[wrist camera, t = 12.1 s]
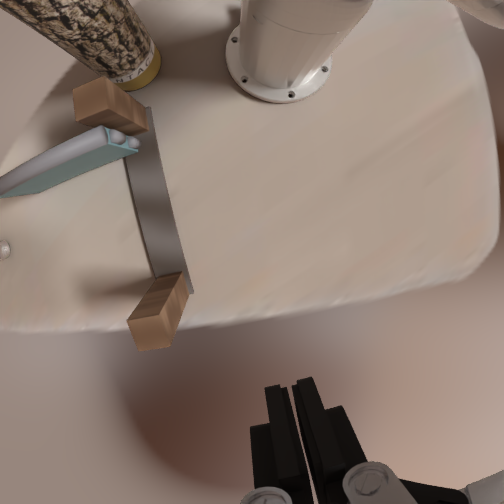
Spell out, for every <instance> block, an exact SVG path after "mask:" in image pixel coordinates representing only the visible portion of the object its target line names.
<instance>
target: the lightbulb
mask: <svg viewBox="0 0 504 504" xmlns="http://www.w3.org/2000/svg"><path fill="white" fill-rule="evenodd" d="M9 255H10V247H9V245H8V243H7V242H6V241H4V240H2V241H0V261H1V260H3V259H6V258H8V257H9Z"/></svg>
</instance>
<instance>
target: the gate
mask: <svg viewBox="0 0 504 504" xmlns="http://www.w3.org/2000/svg"><path fill="white" fill-rule="evenodd" d="M140 147H141V141H140V140H139V139H137V138H134V137H132V136H126V135H125V134H124V133H122V132H119V131H117V130H114V129H108V128H105V127H104V126H103V125H100V126H98V127H96V128H93V129H91V130H89V131H87V132H84V133H82V134H80V135H78V136H76V137H73V138H71V139H69V140H67V141H65V142H63V143H61V144H59V145H57V146H55V147H53V148H51V149H49V150H47V151H45V152H43V153H41V154H39V155H38V156H36V157H34V158H32V159H30V160H29V161H27V162H25V163H23V164H21V165H20V166H18V167H16V168H15V169H13V170H11V171H10V172H8V173H6V174H5V175H3V176H1V177H0V198H6V197H13V196H20V195H27V194H35V193H40V192H42V191H44V190H46V189H48V188H51V187H53V186H55V185H57V184H59V183H61V182H64V181H66V180H68V179H70V178H73V177H75V176H77V175H80V174H82V173H85V172H87V171H89V170H92V169H94V168H97V167H99V166H102V165H104V164H107V163H110V162H112V161H115V160H118V159H120V158H123V157H126V156H128V155H131V154H134V153H137V152H138V149H139V148H140Z"/></svg>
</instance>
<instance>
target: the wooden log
mask: <svg viewBox="0 0 504 504" xmlns="http://www.w3.org/2000/svg"><path fill="white" fill-rule="evenodd" d="M0 8H2V9H3V10H4V11H6V12H8V13H9V14H11V15H12V16H14V17H16V18H17V19H19V20H20V21H22V22H23V23H25V24H26V25H28V26H29V27H31V28H32V29H34V30H36V31H37V32H38V33H40V34H42V35H43V36H45V37H46V38H47V39H49V40H50V41H52V42H53V43H55V44H56V45H58V46H59V47H61V48H62V49H64V50H65V51H66V52H68V53H69V54H71V55H72V56H73V57H75V58H76V59H78V60H79V61H80V62H82V63H83V64H85V65H86V66H87V67H89V68H90V69H92V70H93V71H94V72H96V73H97V74H99V75H100V76H101V77H102V76H105V77H106V78H107V79H109V80H110V81H111V82H113V83H114V84H115V85H117V86H118V87H119V88H121V89H122V90H126V91H132V90H137V89H140V88H142V87H144V86H146V85H147V84H148V83H150V82H151V81H152V80H153V79H154V78H155V76H156V75H157V73H158V71H159V69H160V65H161V57H160V53H159V51H158V49H157V48H156V46H155V44H154V43H153V41H152V39H151V37H150V36H149V34H148V32H147V31H146V29H145V27H144V26H143V24H142V23H141V21H140V19H139V18H138V16H137V14H136V13H135V11H134V10H133V8H132V6H131V5H130V3H129V1H128V0H0Z"/></svg>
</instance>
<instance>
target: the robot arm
mask: <svg viewBox="0 0 504 504" xmlns="http://www.w3.org/2000/svg"><path fill="white" fill-rule="evenodd" d="M447 1H448V2H450V3H452V4H454V5H455V6H457V7H459V8H461V9H463V10H464V11H466V12H467V13H469V14H471V15H472V16H474V17H476V18H478V19H479V20H481V21H483V22H485V23H487V24H489V25H492V26H494V27H497V28H500V29H504V0H447ZM372 2H373V0H241V18H240V24H239V25H238V26H237V27H236V28H235V29H234V30H233V32H232V33H231V35H230V36H229V39H228V41H227V44H226V51H225V56H226V63H227V67H228V70H229V72H230V74H231V76H232V78H233V79H234V80H235V82H236V83H237V84H238V85H239V86H240V87H241V88H242V89H243V90H244V91H246V92H248V93H249V94H251V95H252V96H254V97H257V98H259V99H261V100H264V101H269V102H273V103H292V102H297V101H301V100H304V99H306V98H308V97H310V96H312V95H313V94H314V93H316V92H317V91H318V90H319V89H320V88H321V87H322V86H323V85H324V84H325V82H326V81H327V79H328V78H329V75H330V73H331V69H332V53H333V52H334V51H335V49H336V48H337V47H338V46H339V45H340V43H341V42H342V41H343V40H344V39H345V38H346V36H347V35H348V34H349V33H350V32H351V30H352V29H353V28H354V27H355V26H356V25H357V24H358V22H359V21H360V20H361V19H362V18H363V16H364V15H365V14H366V13H367V12H368V10H369V8H370V7H371V5H372ZM234 41H235V42H237V43H233V42H234ZM322 70H324V71H325V72H323V71H322ZM243 80H246V81H247V82H246V83H243V82H242V81H243ZM288 95H292V98H290V97H288ZM292 391H293V396H294V401H295V406H296V412H297V417H298V422H299V427H300V432H301V437H302V441H303V445H304V449H305V453H306V457H307V461H308V464H309V468H310V472H311V476H312V480H313V484H314V487H315V491H316V495H317V499H318V503H319V504H504V470H502V471H500V472H498V473H496V474H493V475H491V476H489V477H486V478H484V479H481V480H479V481H476V482H474V483H471V484H468V485H467V486H466V488H463V489H460V490H456V489H450V488H444V487H437V486H432V485H427V484H421V483H416V482H411V481H407V480H403V479H399V478H397V476H396V475H395V474H394V473H393V471H392V470H391V469H390V468H389V467H388V466H387V465H385V464H382V463H380V462H374V461H372V462H368V461H367V459H366V457H365V454H364V452H363V450H362V448H361V445H360V443H359V441H358V439H357V437H356V434H355V433H354V430H353V428H352V426H351V423H350V421H349V419H348V417H347V415H346V413H345V410H344V408H343V407H342V406H337V407H334V408H330V409H326V410H325V409H324V406H323V404H322V401H321V398H320V396H319V393H318V391H317V388H316V385H315V383H314V380H313V378H312V377H308V378H305V379H300V380H297V384H296V385H292ZM265 395H266V401H267V408H268V414H269V421H270V423H267V424H262V425H256V426H251V427H250V436H251V450H252V463H253V475H254V487H255V490H253V491H251V492H249V493H248V494H247V495H246V496H245V497H244V498H243V499H242V500H241V503H240V504H314V501H313V496H312V490H311V485H310V479H309V474H308V470H307V466H306V461H305V457H304V453H303V449H302V446H301V442H300V438H299V434H298V430H297V426H296V422H295V418H294V414H293V410H292V406H291V402H290V398H289V394H288V390H287V387H284V388H280V385H274V386H269V387H265Z"/></svg>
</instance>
